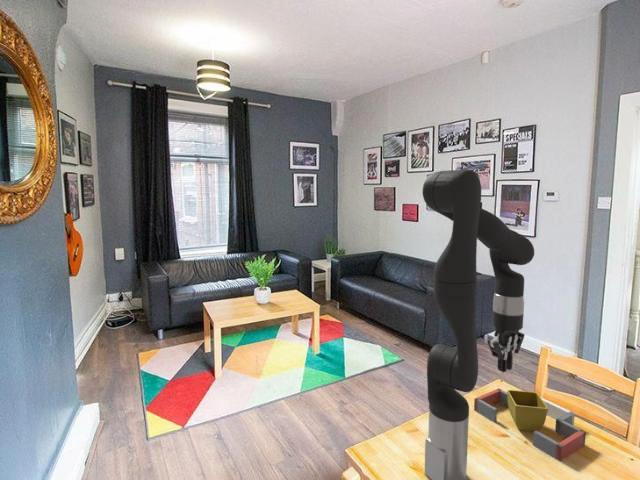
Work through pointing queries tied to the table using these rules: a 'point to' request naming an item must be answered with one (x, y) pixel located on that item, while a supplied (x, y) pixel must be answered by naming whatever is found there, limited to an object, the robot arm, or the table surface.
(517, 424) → the flower pot
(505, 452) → the table surface
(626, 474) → the table surface
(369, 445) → the table surface
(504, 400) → the box
